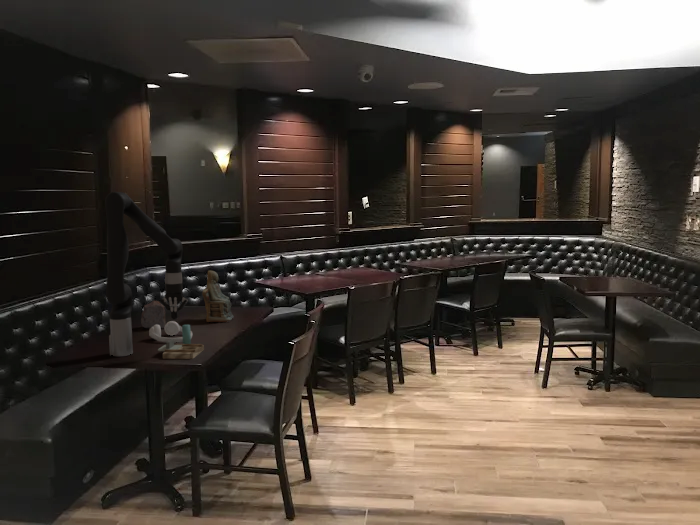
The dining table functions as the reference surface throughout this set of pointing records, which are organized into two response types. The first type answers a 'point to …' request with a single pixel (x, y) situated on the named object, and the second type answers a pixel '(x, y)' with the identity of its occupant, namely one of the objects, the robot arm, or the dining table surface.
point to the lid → (170, 345)
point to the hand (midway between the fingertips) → (174, 319)
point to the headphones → (170, 329)
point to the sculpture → (216, 301)
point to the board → (183, 351)
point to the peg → (186, 334)
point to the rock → (153, 315)
